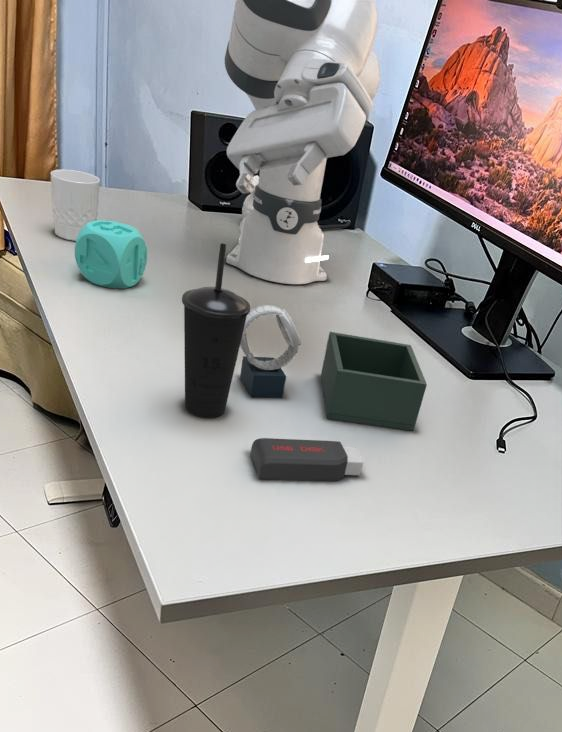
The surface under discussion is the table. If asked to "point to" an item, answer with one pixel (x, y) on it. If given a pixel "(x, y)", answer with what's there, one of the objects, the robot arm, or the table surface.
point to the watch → (265, 371)
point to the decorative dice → (111, 254)
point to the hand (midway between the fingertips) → (268, 185)
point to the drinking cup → (211, 344)
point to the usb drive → (304, 459)
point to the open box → (371, 382)
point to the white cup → (73, 201)
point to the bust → (249, 200)
